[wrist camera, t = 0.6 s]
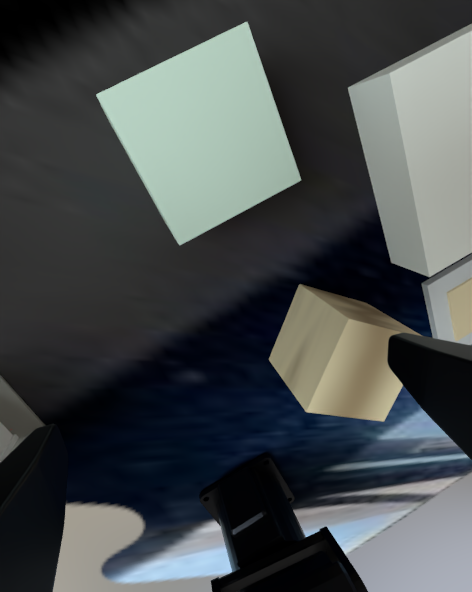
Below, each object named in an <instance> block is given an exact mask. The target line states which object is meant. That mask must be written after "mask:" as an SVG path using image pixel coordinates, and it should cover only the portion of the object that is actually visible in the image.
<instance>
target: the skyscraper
mask: <svg viewBox="0 0 472 592" xmlns="http://www.w3.org/2000/svg"><path fill="white" fill-rule="evenodd" d="M42 426H46V425H45V424H44V423H43V422H42V421H41V420H40V419H39V418H38V416H37V415H36V414H35V413H34V412H33V411H32V410H31V409H30V407H29V406H28V405H27V404H26V403H25V402H24V401H23V400H22V398H21V397H20V396H19V395H18V394H17V393H16V392H15V391H14V389H13V388H12V387H11V386H10V385H9V384H8V383H7V382H6V380H5V379H4V378H3V377H2V376H1V375H0V462H1V461H3V460H4V459H5V458H6V457H7V456H8V455H9V454H10V453H11V452H12V451H13V450H14V449H15V448H16V447H17V446H18V445H19V444H20V443H21V442H22V441H23V440H24V439H25V438H26V437H27V436H28V435H29V434H31V433H32V432H33V431H34V430H35V429H36V428H38V427H42Z"/></svg>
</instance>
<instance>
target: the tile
mask: <svg viewBox="0 0 472 592" xmlns="http://www.w3.org/2000/svg"><path fill="white" fill-rule="evenodd" d="M421 284H422V289H423V293H424V298H425V303H426V307H427V312H428V317H429V322H430V326H431V331H432V336H433V338H435V339H441V340H446V341H451V342H456V343H461V344H467V345H471V344H472V254H471V255H469V256H467V257H466V258H464V259H462V260H461V261H459V262H457V263H455V264H454V265H452V266H450V267H449V268H447V269H445V270H444V271H442V272H440V273H438V274H437V275H435V276H433V277H432V278H430V279H428V280H426V281H425V282H423V283H421Z"/></svg>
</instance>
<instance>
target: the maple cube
mask: <svg viewBox="0 0 472 592" xmlns="http://www.w3.org/2000/svg"><path fill="white" fill-rule="evenodd" d="M399 333H410V334H415V335H420V334H418V333H417V332H415V331H413V330H412V329H410V328H408V327H406V326H405V325H403V324H401V323H400V322H398V321H396V320H395V319H393V318H391V317H389V316H388V315H386V314H384V313H383V312H381V311H379V310H377V309H376V308H374V307H372V306H371V305H369V304H367V303H365V302H361V301H358V300H354V299H351V298H347V297H344V296H340V295H337V294H333V293H330V292H326V291H323V290H319V289H316V288H312V287H309V286H305V285H302V284H299V286H298V289H297V291H296V294H295V296H294V299H293V301H292V303H291V306H290V308H289V311H288V313H287V316H286V318H285V321H284V323H283V326H282V328H281V331H280V333H279V336H278V338H277V340H276V343H275V345H274V348H273V350H272V353H271V355H270V358H269V361H270V362H271V364H272V365H273V366H274V368H275V369H276V371H277V372H278V373H279V375H280V376H281V378H282V379H283V380H284V382H285V383H286V385H287V386H288V387H289V389H290V390H291V392H292V393H293V394H294V396H295V397H296V399H297V400H298V401H299V403H300V404H301V406H302V407H303V408H304V410H305V411H306V412H310V413H318V414H326V415H334V416H342V417H350V418H359V419H367V420H375V421H383V422H384V420H385V418H386V417H387V415H388V413H389V411H390V409H391V407H392V405H393V403H394V401H395V400H396V398H397V396H398V394H399V392H400V390H401V388H402V386H403V384H402V383H401V382H400V380H399V379H398V378H397V377H396V375H395V374H394V373H393V372H392V370H391V369H390V368H389V365H388V362H387V355H388V340H389V338H390V336H392V335H395V334H399ZM420 336H422V335H420Z"/></svg>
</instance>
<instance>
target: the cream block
mask: <svg viewBox="0 0 472 592" xmlns="http://www.w3.org/2000/svg"><path fill="white" fill-rule="evenodd" d="M348 91H349V95H350V99H351V103H352V107H353V111H354V115H355V119H356V123H357V127H358V131H359V135H360V139H361V143H362V147H363V151H364V155H365V159H366V163H367V167H368V171H369V175H370V179H371V183H372V187H373V191H374V195H375V199H376V203H377V207H378V211H379V215H380V219H381V223H382V227H383V231H384V235H385V239H386V243H387V247H388V251H389V255H390V259H391V263H394V264H396V265H399V266H401V267H404V268H407V269H409V270H412V271H415V272H417V273H420V274H423V275H425V276H428V277H431V276H432V275H434V274H436V273H437V272H439V271H441V270H443V269H444V268H446V267H448V266H449V265H451V264H453V263H455V262H456V261H458V260H460V259H461V258H463V257H465V256H467V255H468V254H470V253H472V24H470V25H468V26H466V27H464V28H462V29H460V30H459V31H457V32H455V33H453V34H451V35H449V36H447V37H445V38H443V39H441V40H439V41H437V42H435V43H433V44H431V45H429V46H428V47H426V48H424V49H422V50H420V51H418V52H416V53H414V54H412V55H410V56H408V57H406V58H404V59H402V60H400V61H398V62H397V63H395V64H393V65H391V66H389V67H387V68H385V69H383V70H381V71H379V72H377V73H375V74H373V75H371V76H369V77H367V78H366V79H364V80H362V81H360V82H358V83H356V84H354V85H352V86H350V87H348Z"/></svg>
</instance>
